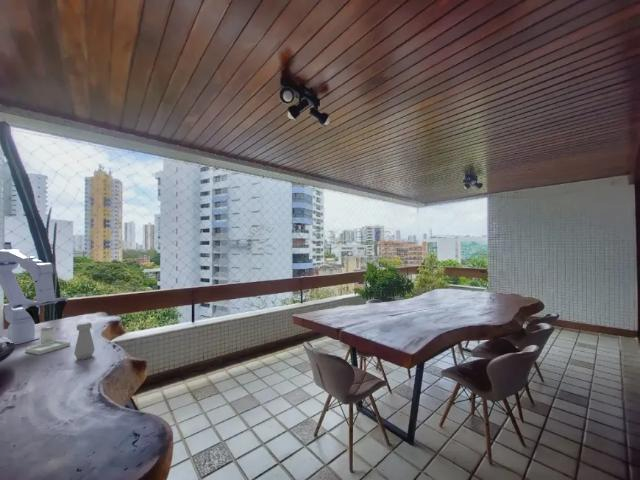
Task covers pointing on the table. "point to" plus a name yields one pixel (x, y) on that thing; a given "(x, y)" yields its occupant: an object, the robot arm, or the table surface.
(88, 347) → the salt shaker
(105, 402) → the table surface
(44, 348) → the tray
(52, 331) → the white shaker
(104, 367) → the table surface
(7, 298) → the robot arm
